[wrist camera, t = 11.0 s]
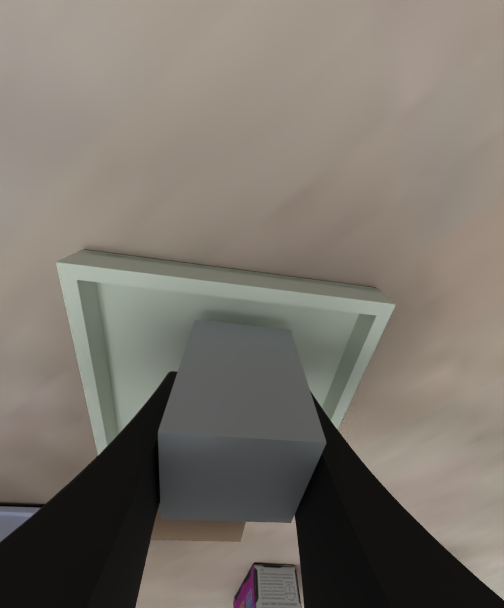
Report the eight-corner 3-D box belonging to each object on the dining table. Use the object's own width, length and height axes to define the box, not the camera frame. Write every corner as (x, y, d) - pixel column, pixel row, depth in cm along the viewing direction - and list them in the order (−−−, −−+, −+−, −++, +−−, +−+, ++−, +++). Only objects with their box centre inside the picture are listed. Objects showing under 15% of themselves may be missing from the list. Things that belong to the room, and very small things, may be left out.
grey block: (273, 397, 12) (290, 522, 8) (191, 390, 12) (160, 519, 7) (290, 329, 10) (326, 443, 6) (194, 319, 10) (157, 432, 6)
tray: (307, 455, 17) (313, 481, 16) (114, 444, 16) (101, 472, 15) (375, 287, 12) (396, 304, 10) (83, 249, 10) (55, 262, 9)
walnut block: (240, 436, 16) (240, 541, 11) (175, 432, 15) (147, 539, 11) (250, 390, 14) (253, 493, 9) (176, 384, 13) (143, 489, 9)
